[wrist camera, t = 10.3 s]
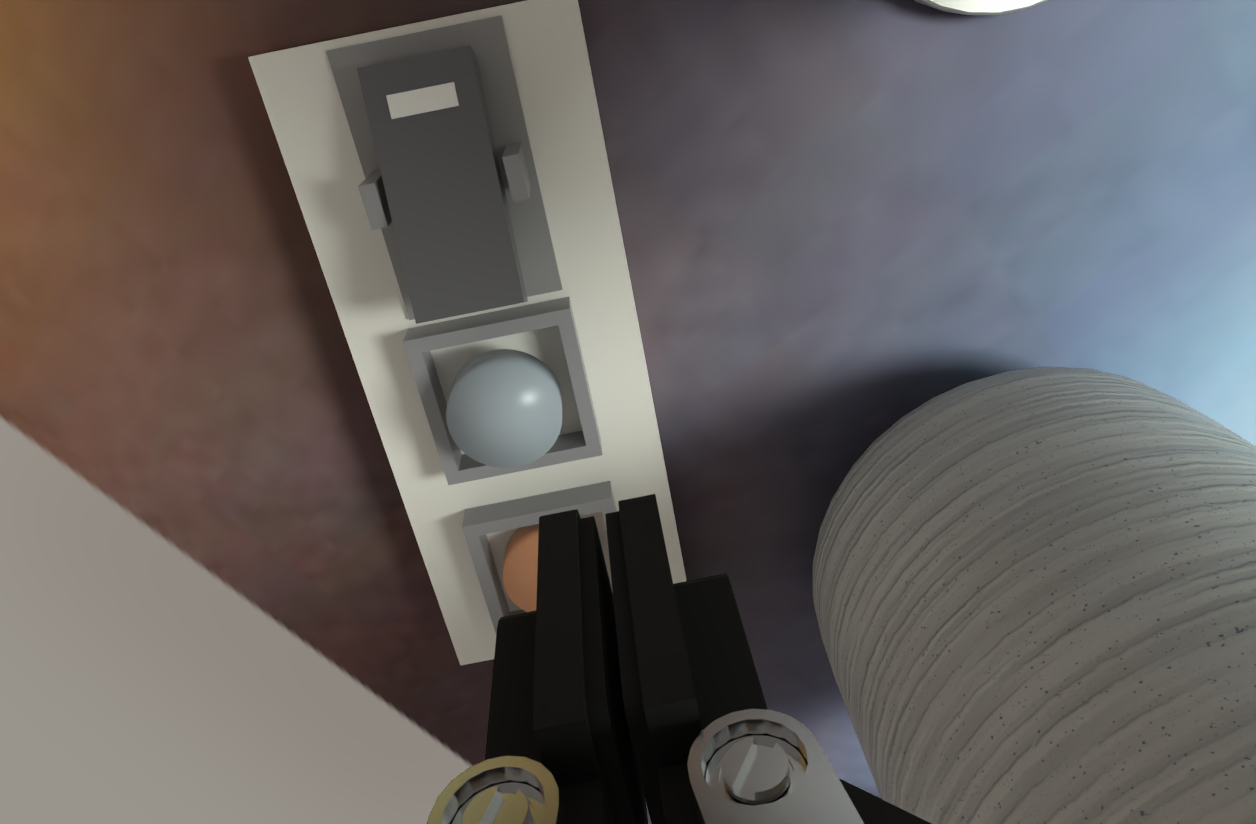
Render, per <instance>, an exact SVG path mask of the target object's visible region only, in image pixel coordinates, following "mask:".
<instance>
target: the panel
mask: <svg viewBox="0 0 1256 824" xmlns="http://www.w3.org/2000/svg"><path fill="white" fill-rule="evenodd" d="M468 45H470V47H471V48H472V50H473V52H474V53H475V55H476V58H477V63H478V68H479V72H480V77H481V82H482V87H483V91H484V96H485V101H486V106H487V110H488V115H489V120H490V124H491V129H492V134H493V139H494V143H495V148H496V153H497V157H498V162H499V167H500V172H501V176H502V181H503V186H504V190H505V195H506V200H507V205H508V209H509V214H510V219H511V223H512V228H513V233H514V238H515V242H516V247H517V252H518V256H519V261H520V266H521V271H522V275H523V280H524V285H525V290H526V294H527V299H528V302H524V303H519V304H513V305H508V306H503V307H498V308H493V309H488V310H483V311H478V312H473V313H468V314H463V315H458V316H453V317H448V318H443V319H438V320H433V321H428V322H423V323H418V324H416V322H415V317H414V313H413V309H412V305H411V300H410V296H409V292H408V287H407V283H406V279H405V274H404V270H403V266H402V261H401V257H400V253H399V248H398V244H397V240H396V236H395V231H394V227H393V223H392V218H391V214H390V210H389V205H388V201H387V197H386V192H385V188H384V184H383V180H382V175H381V171H380V167H379V162H378V158H377V154H376V149H375V145H374V141H373V136H372V132H371V128H370V123H369V119H368V115H367V111H366V106H365V102H364V98H363V93H362V89H361V85H360V80H359V76H358V72H357V68H359V67H364V66H369V65H374V64H379V63H384V62H389V61H394V60H399V59H404V58H409V57H414V56H419V55H424V54H429V53H434V52H439V51H443V50H448V49H453V48H458V47H463V46H468ZM248 59H249V62H250V65H251V68H252V70H253V73H254V76H255V79H256V82H257V85H258V88H259V90H260V93H261V96H262V99H263V102H264V105H265V108H266V110H267V113H268V116H269V119H270V122H271V125H272V128H273V130H274V133H275V136H276V139H277V142H278V145H279V148H280V151H281V153H282V156H283V159H284V162H285V165H286V168H287V171H288V173H289V176H290V179H291V182H292V185H293V188H294V191H295V193H296V196H297V199H298V202H299V205H300V208H301V211H302V214H303V216H304V219H305V222H306V225H307V228H308V231H309V234H310V236H311V239H312V242H313V245H314V248H315V251H316V254H317V256H318V259H319V262H320V265H321V268H322V271H323V274H324V277H325V279H326V282H327V285H328V288H329V291H330V294H331V297H332V299H333V302H334V305H335V308H336V311H337V314H338V317H339V319H340V322H341V325H342V328H343V331H344V334H345V337H346V339H347V342H348V345H349V348H350V351H351V354H352V357H353V360H354V362H355V365H356V368H357V371H358V374H359V377H360V380H361V382H362V385H363V388H364V391H365V394H366V397H367V400H368V402H369V405H370V408H371V411H372V414H373V417H374V420H375V423H376V425H377V428H378V431H379V434H380V437H381V440H382V443H383V445H384V448H385V451H386V454H387V457H388V460H389V463H390V465H391V468H392V471H393V474H394V477H395V480H396V483H397V486H398V488H399V491H400V494H401V497H402V500H403V503H404V506H405V508H406V511H407V514H408V517H409V520H410V523H411V526H412V528H413V531H414V534H415V537H416V540H417V543H418V546H419V548H420V551H421V554H422V557H423V560H424V563H425V566H426V569H427V571H428V574H429V577H430V580H431V583H432V586H433V589H434V591H435V594H436V597H437V600H438V603H439V606H440V609H441V611H442V614H443V617H444V620H445V623H446V626H447V629H448V632H449V634H450V637H451V640H452V643H453V646H454V649H455V652H456V654H457V657H458V660H459V663H460V666H461V665H466V664H471V663H477V662H482V661H487V660H492V659H494V656H495V645H496V634H497V626H498V621H499V619H500V618H501V617H505V616H510V615H515V614H521V613H526V611H524V610H522V609H521V608H519V607H518V606H517V605H515V604H514V603H513V602H512V600H511V599H510V598H509V596H508V595H507V593H506V591H505V588H504V584H503V568H504V556H505V549H506V546H507V543H508V541H509V539H510V538H511V536H512V535H513V534H514V532H515V531H516V530H518V529H519V528H520V527H525V526H530V525H535V524H539V517H540V516H544V515H549V514H554V513H559V512H564V511H570V510H575V509H577V510H578V512H579V514H580V518H586V517H592V516H594V518H595V521H596V525H597V529H598V533H599V538H600V542H601V546H602V550H603V555H604V559H605V563H606V567H607V572H608V576H609V580H610V584H611V589H612V580H611V569H610V559H609V548H608V538H607V528H606V517H605V514H607V513H612V512H617V511H619V504H618V501H621V500H626V499H631V498H636V497H641V496H646V495H651V494H655V495H656V500H657V505H658V510H659V515H660V520H661V525H662V530H663V535H664V540H665V545H666V550H667V555H668V561H669V566H670V571H671V576H672V581H673V584H675V583H680V582H685V581H687V580H686V575H685V569H684V564H683V559H682V553H681V548H680V543H679V537H678V532H677V527H676V521H675V516H674V511H673V505H672V500H671V495H670V489H669V484H668V479H667V473H666V468H665V463H664V457H663V452H662V447H661V441H660V436H659V431H658V425H657V420H656V415H655V409H654V404H653V399H652V393H651V388H650V383H649V377H648V372H647V367H646V361H645V356H644V351H643V345H642V340H641V335H640V329H639V324H638V319H637V313H636V308H635V303H634V297H633V292H632V286H631V281H630V276H629V270H628V265H627V260H626V254H625V249H624V244H623V238H622V233H621V228H620V222H619V217H618V212H617V206H616V201H615V196H614V190H613V185H612V180H611V174H610V169H609V164H608V158H607V153H606V148H605V142H604V137H603V132H602V126H601V121H600V116H599V110H598V105H597V100H596V94H595V89H594V84H593V78H592V73H591V68H590V62H589V57H588V52H587V46H586V41H585V36H584V30H583V25H582V20H581V14H580V9H579V4H578V0H525V1H520V2H515V3H510V4H505V5H500V6H496V7H491V8H486V9H481V10H476V11H471V12H466V13H461V14H456V15H451V16H446V17H441V18H436V19H431V20H426V21H422V22H417V23H412V24H407V25H402V26H397V27H392V28H387V29H382V30H377V31H372V32H367V33H362V34H357V35H352V36H347V37H343V38H338V39H333V40H328V41H323V42H318V43H313V44H308V45H303V46H298V47H293V48H288V49H283V50H278V51H273V52H269V53H264V54H260V55H255V56H251V57H248ZM498 349H511V350H518V351H522V352H525V353H528V354H530V355H532V356H534V357H536V358H538V359H539V360H541V361H542V362H543V363H544V364H545V365H547V366H548V367H549V369H550V370H551V371H552V372H553V374H554V375H555V377H556V379H557V381H558V383H559V385H560V389H561V394H562V427H561V430H560V434H559V436H558V438H557V440H556V442H555V443H554V445H553V446H552V447H551V448H550V450H549V451H548V452H547V453H545V454H544V455H543V456H542V457H540V458H539V459H537V460H535V461H533V462H531V463H529V464H526V465H523V466H519V467H513V468H499V467H492V466H488V465H485V464H482V463H480V462H478V461H475V460H474V459H472V458H471V457H469V456H468V455H466V454H465V453H464V452H463V451H462V450H461V449H460V448H459V447H458V446H457V444H456V443H455V442H454V440H453V438H452V437H451V435H450V432H449V430H448V426H447V420H446V409H447V404H448V400H449V396H450V392H451V388H452V385H453V382H454V379H455V377H456V376H457V374H458V372H459V371H460V370H461V368H462V367H463V366H464V365H465V364H466V363H467V362H469V361H470V360H471V359H473V358H474V357H476V356H478V355H480V354H482V353H485V352H488V351H492V350H498ZM612 593H613V590H612Z"/></svg>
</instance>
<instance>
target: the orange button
mask: <svg viewBox="0 0 1256 824" xmlns="http://www.w3.org/2000/svg"><path fill="white" fill-rule="evenodd" d="M538 535H539V524H535V525H530V526H525V527H520V528H519V529H518V530H516V531H515V532H514V534H513V535H512V536H511V538H510V539H509V541H508V543H507V546H506V549H505V556H504V568H503V584H504V588H505V591H506V593H507V595H508V596H509V598H510V599H511V600H512V602H513V603H514V604H515V605H517V606H518V607H519V608H521V609H522V610H524V611H526V612H531V611H536V602H537V569H538Z"/></svg>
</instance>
